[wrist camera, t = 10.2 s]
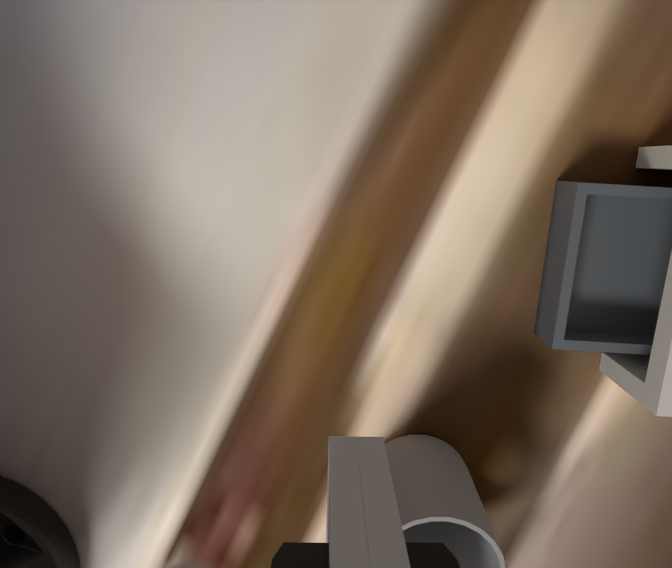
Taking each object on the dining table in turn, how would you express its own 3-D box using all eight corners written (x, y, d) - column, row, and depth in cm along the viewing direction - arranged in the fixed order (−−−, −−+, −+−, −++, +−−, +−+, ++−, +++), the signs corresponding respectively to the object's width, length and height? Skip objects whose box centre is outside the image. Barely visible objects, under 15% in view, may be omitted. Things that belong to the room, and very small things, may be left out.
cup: (407, 410, 36) (427, 490, 27) (520, 492, 37) (574, 595, 28) (340, 486, 37) (340, 586, 28) (452, 563, 38) (484, 682, 29)
